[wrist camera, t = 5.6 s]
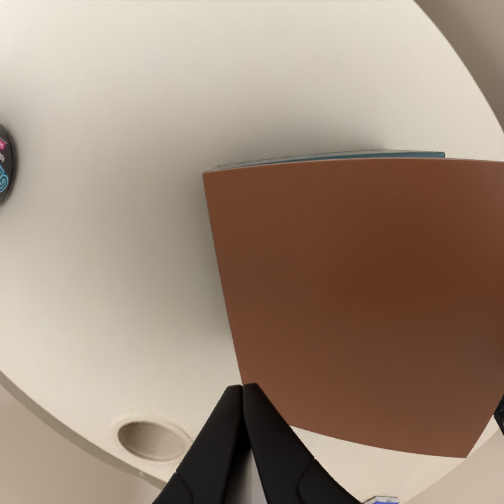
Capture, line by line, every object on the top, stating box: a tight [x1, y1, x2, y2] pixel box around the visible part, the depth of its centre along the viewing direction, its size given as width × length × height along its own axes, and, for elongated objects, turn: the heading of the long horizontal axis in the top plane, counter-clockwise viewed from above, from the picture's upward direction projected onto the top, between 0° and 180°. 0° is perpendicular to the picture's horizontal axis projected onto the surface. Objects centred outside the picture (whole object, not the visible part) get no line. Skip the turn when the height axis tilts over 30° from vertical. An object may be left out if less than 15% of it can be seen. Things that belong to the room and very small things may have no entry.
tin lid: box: [202, 157, 504, 458], centre depth 9 cm, size 11×12×1 cm
